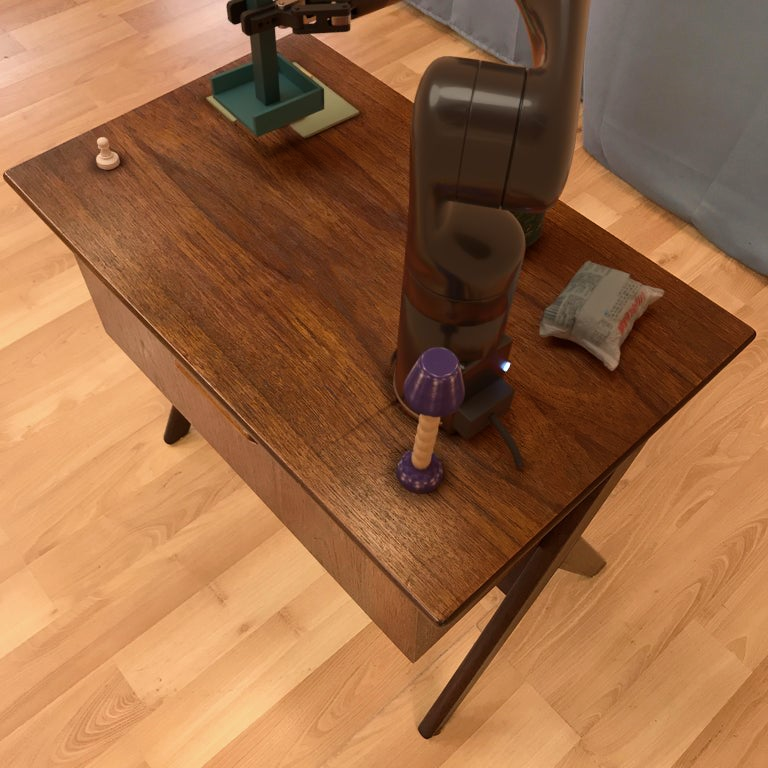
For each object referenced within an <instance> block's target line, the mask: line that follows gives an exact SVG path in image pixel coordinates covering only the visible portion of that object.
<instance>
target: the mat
mask: <svg viewBox="0 0 768 768" xmlns="http://www.w3.org/2000/svg"><path fill="white" fill-rule="evenodd" d="M292 63H293V64H294V65H295V66H296V67H298V68H302V69H303V70H305V71H306V72H308V73H310V72H309V71H308V70H306V69H305V68H304V67H302V66H301V65H300V64H298V63H297V62H296V61H294V62H292ZM313 80H314V81H315V82H316V83H318V84H319V85H320V86H321V87H323V88H324V109H323V110H321V111H319V112H316V113H314V114H312V115H309V116H307V117H305V118H304V119H301V120H299V121H297V122H294V123H292V124H290V125H288V126H289V127H290V128H291V129H293V130H294V131H295V132H296V133H298V134H299V135H300V136H301V137H302V138H304V139H307V138H310V137H312V136H314V135H317V134H318V133H320V132H323V131H325V130H328V129H329V128H332V127H334V126H336V125H338V124H340V123H343V122H345V121H347V120H350V119H351V118H353V117H356V116H358V115H360V111H359V110H358V109H357V108H356V107H354V106H353V105H352V104H350V103H349V101H348V102H347V101H346V100H345V99H344V98H343V97H342V96H339V94H338V93H336V92H335V91H334V90H332V89H331V88H330V87H328V85H325V84H324V83H323V82H321V81H320V80H319V79H318V78H317V77H315V76H314V75H313ZM206 101H207V102H208V103H209V104H210V105H212V106H213V107H214V109H216V110H217V111H218V112H220V114H222V115H223V117H225V118H226V119H228V121H229V122H231V123H233V122H235V121H238V120H237V119H236V118H235V117H234V116H232V115H231V114H230V113H229V112H228V111H227V110H226V109H225V108H224V107H222V106H221V105H220V104H219V103H218V102H217V101H216V100H215V99H214V98H213V95H210V96H207V97H206Z"/></svg>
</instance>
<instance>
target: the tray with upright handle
mask: <svg viewBox="0 0 768 768" xmlns="http://www.w3.org/2000/svg"><path fill="white" fill-rule="evenodd" d="M273 1H274V0H246V3H247V10H250V9H253V8H256V7H260V6H263V5H265V4H268V3H271V2H272V3H273ZM249 43H250V52H251V53H250V54H251V61H250V62H246V63H244V64H241V65H239V66H236V67H233V68H231V69H228V70H225V71H222V72H220V73H217V74H215V75H212V76H210V77H209V81H210V82H209V83H210V87H211V94H212V95H213V98H214V99H215V100H216V101H217V102H218V103H219V104H220V105H221V106H222V107H224V108H225V109H226V110H227V111H228V112H229V113H230V114H231V115H232V116H234V117H235V118H236V119H237V120H236V121H238V122H239V123H240V124H241V125H242V126H243V127H244V128H246V129H247V130H248V131H249V132H250V133H251V134H252V135H253V136H254V137H255V138H261V137H262V136H264V135H267V134H269V133H272V132H274V131H276V130H279V129H281V128H284V127H286V126H289V125H288V124H291V123H293V122H295V121H298V120H300V119H302V118H305V117H307V116H309V115H312V114H314V113H316V112H319V111H321V110H323V109H324V88H323V87H321V86H320V85H319V84H318V83H316V82H315V81H314V80H313V79H311V78H310V77H309V76H308V75H306V74H305V73H304V72H303V71H301V70H300V69H299V68H298V67H296V66H295V65H294V64H293V63H294V62H291V60H289V59H288V58H287V57H285V56H284V55H283V54H282V53H281V52H279V51H278V49H277V47H278V46H277V34H276V27H275V28H272V29H269V30H266V31H263V32H261V33H257V34H254V35H251V36H249ZM212 95H211V96H212Z"/></svg>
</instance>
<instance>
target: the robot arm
mask: <svg viewBox="0 0 768 768" xmlns="http://www.w3.org/2000/svg"><path fill="white" fill-rule="evenodd" d="M402 1H404V0H273V3H272V2H271V3H268V4H265V5H263V6H260V7H256V8H253V9H250V10H247V3H246V0H228V1H227V2H226V14H227V20H228V22H230V24H232V25H234V26H236V25H240V27H241V32H242V33H243V34H244V35H246V36H247V37H250V36H251V35H254V34H257V33H261V32H263V31H266V30H269V29H272V28H275V29H276V28H278V29H281V30H286V29H289V28H291V31H292V34H294V35H296V36H297V35H299V36H300V35H319V34H335V33H348V32H350V31H351V23H352V21H353V20H356V19H358V18H362V17H364V16H367V15H369V14H372V13H374V12H377V11H380V10H382V9H385V8H388V7H391V6H393V5H396V4H398V3H401V2H402ZM591 1H592V0H514V3H515V5H516V7H517V9H518V11H519V13H520V15H521V18H522V20H523V23H524V26H525V30H526V32H527V36H528V40H529V44H530V50H531V56H532V64H533V67H530V66H528V67H527V66H523V65H517V64H510V63H504V62H496V61H489V60H483V59H482V60H481V59H477V58H470V57H461V56H454V55H453V56H452V55H443V56H439V57H437V58H436V59H435V58H434V59H433V60H432V61H431V62H430V64H428V66H426V68H425V70H424V72H423V74H422V76H421V78H420V80H419V82H418V85H417V88H416V92H415V95H414V100H413V105H412V113H411V120H410V127H409V128H410V131H409V153H408V154H409V155H408V157H409V158H408V161H409V162H408V164H409V165H408V166H409V170H408V173H409V175H408V179H409V180H408V183H409V184H408V185H409V186H408V211H407V215H408V216H407V226H406V237H405V246H404V247H405V248H404V258H403V259H404V261H403V273H402V282H401V294H400V306H399V317H398V329H397V330H398V331H397V340H396V341H397V342H396V348H395V350H394V352H393V354H392V355H391V357H390V359H391V360H390V367H392V366H393V364H394V363H395V366H394V367H395V369H394V372H393V379H392V388H393V392H394V395H395V398H396V402H397V404H398V405H399V407H400V408H401V409H402V411H404V413H405V414H407V415H408V416H409V417H410V418H411V419H413V420H415V421H417V422H419V416H420V414H419V413H418V412H416V411H415V410H413V409H412V408H411V406H409V404H408V403H407V401H406V399H405V396H404V390H403V388H404V382H405V380H406V377H407V376H408V374H409V372H410V371H411V369H412V367H413V366H414V364H415V363H416V361H417V360H418V358H419V357H420V356H421V355H422V353H424V352H425V351H426V350H428V349H430V348H434V347H441V348H445V349H448V350H450V351H452V352H453V353H454V354H455V355H456V356H457V358H458V360H459V363H460V366H461V371H462V376H463V381H464V387H465V396H464V400H463V402H462V404H461V406H460V407H459V408H458V409H457V410H456V411H455V412H453V413H451V414H450V415H447V416H443V417H440V423H439V426H438V428H441V429H443V430H444V431H445V432H446V433H447V434H448V435H453V434H455V433H458V434H459V435H460V436H462V438H463V439H465V440H466V441H468V440H470V439H471V438H473V437H474V436H475V435H477V434H479V432H481V431H483V430H484V429H485V428H487V426H489V425H490V424H492V426H493V427H494V429H495V430H496V431H497V432H498V433H499V435H500V436H501V437H502V439H503V441H504V442H505V443H506V445H507V447H508V448H509V451H510V453H511V455H512V458H513V461H514V464H515V467H516V469H521V468H523V467H524V466H525V463H524V460H523V458H522V455H521V451H520V449H519V446H518V445H517V443H516V441H515V439H514V438H513V437H512V435H511V433H510V432H509V431H508V429H507V428H506V426H505V425H504V424H503V423H502V421H501V420H500V419H499V418H501V417H502V416H503V415H504V414H506V413H507V412H509V411H510V410H511V406H512V402H513V400H514V396H515V392H516V390H515V389H514V388H513V387H512V386H511V385H510V384H509V383H508V382H506V381H505V380H504V378H505V375H506V374H505V373H506V372H507V371H508V369H509V368H510V365H511V363H510V362H509V359H510V355H511V350H512V348H513V344H514V339H513V337H512V336H511V335H510V334H509V333H507V332H506V331H507V327H508V324H509V323H508V322H509V318H510V314H511V310H512V306H513V302H514V300H515V299H514V298H515V295H516V290H517V286H518V283H519V278H520V274H521V272H522V267H523V263H524V259H525V254H526V249H527V248H526V244H525V236H524V232H523V230H522V227H521V225H520V224H519V222H518V221H517V219H516V218H515V217H514V216H513V214H512V213H511V212H509V211H514V212H521V213H543V212H545V213H546V212H547V211H549V210H551V209H552V208H553V207H554V206H555V205H556V203H557V202H558V201H559V199H560V198H561V196H562V194H563V192H564V189H565V186H566V184H567V181H568V179H569V175H570V172H571V167H572V164H573V160H574V155H575V148H576V143H577V142H576V141H577V133H578V126H579V118H580V111H581V98H582V90H583V77H584V67H585V58H586V57H585V56H586V46H587V36H588V27H589V26H588V25H589V17H590V8H591ZM525 248H526V249H525Z"/></svg>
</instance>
